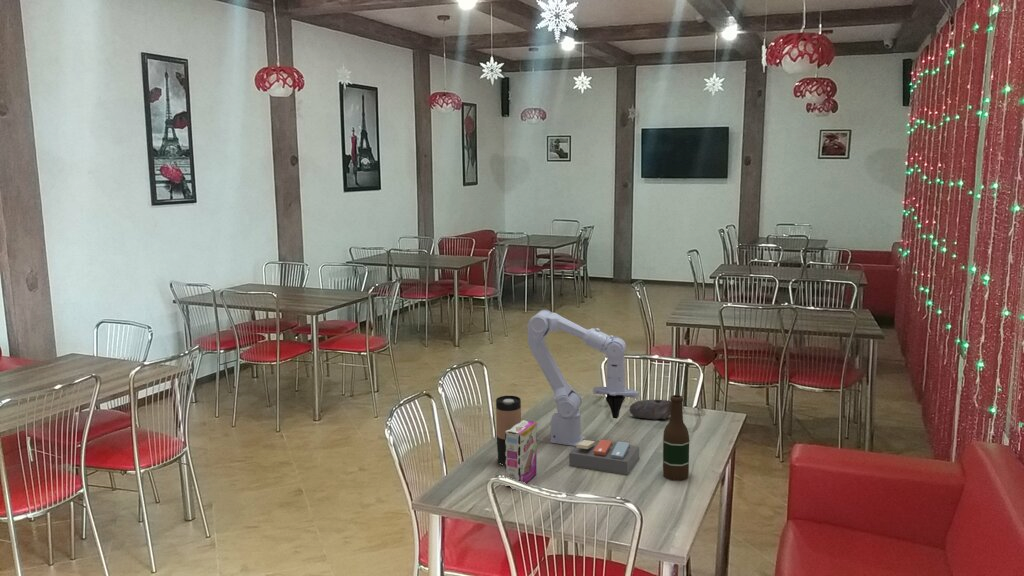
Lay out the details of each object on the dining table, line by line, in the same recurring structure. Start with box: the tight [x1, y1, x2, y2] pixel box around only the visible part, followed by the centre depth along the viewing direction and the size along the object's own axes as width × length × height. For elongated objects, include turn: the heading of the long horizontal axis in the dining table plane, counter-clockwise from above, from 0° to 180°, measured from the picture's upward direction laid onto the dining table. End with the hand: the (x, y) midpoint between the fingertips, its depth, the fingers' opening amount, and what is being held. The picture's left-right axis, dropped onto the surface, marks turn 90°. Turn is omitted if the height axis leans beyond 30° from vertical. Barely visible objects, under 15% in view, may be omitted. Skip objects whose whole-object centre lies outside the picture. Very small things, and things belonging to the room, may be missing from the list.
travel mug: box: [495, 395, 522, 466], centre depth 231 cm, size 8×8×20 cm
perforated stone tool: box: [629, 399, 671, 421], centre depth 267 cm, size 15×5×7 cm, turn 74°
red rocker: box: [593, 439, 613, 456], centre depth 228 cm, size 4×7×1 cm, turn 155°
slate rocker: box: [611, 441, 630, 459], centre depth 226 cm, size 4×7×1 cm, turn 155°
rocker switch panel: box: [568, 438, 640, 476], centre depth 230 cm, size 18×13×4 cm
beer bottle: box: [662, 394, 690, 481], centre depth 218 cm, size 8×8×24 cm
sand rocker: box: [575, 440, 595, 449], centre depth 231 cm, size 4×7×1 cm, turn 155°
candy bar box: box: [505, 419, 538, 484], centre depth 217 cm, size 11×5×16 cm, turn 152°
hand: (615, 417), depth 242 cm, fingers closed
